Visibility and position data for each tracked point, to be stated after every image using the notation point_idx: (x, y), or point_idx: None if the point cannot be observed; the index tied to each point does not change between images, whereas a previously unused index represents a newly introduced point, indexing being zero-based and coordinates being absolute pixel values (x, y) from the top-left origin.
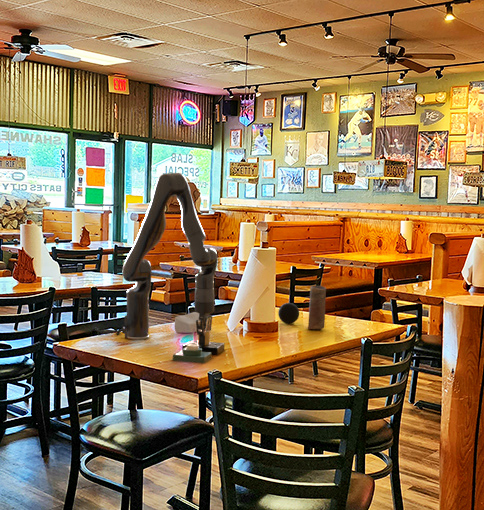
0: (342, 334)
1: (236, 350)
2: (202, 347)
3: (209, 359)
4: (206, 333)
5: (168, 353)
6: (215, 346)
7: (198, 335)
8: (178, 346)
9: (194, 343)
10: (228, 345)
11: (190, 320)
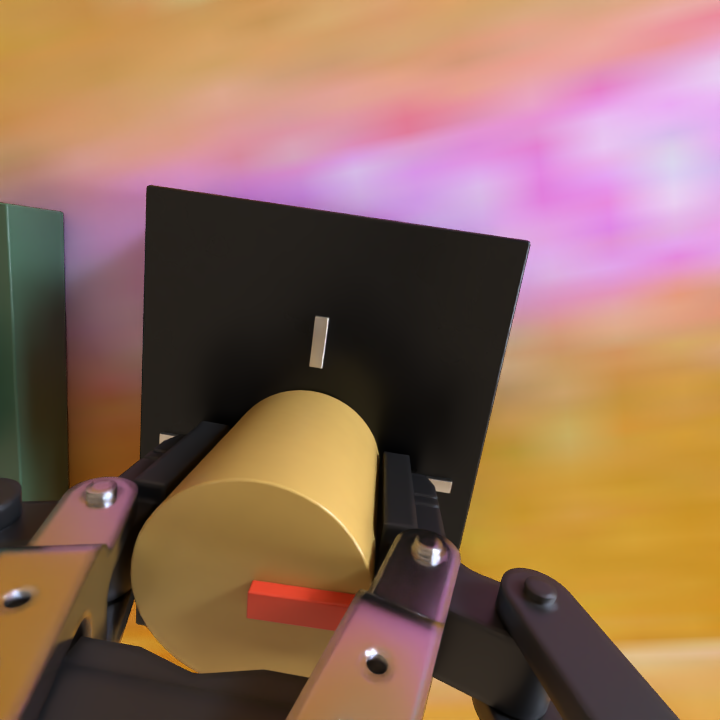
0: None
1: (449, 698)
2: None
3: None
4: (174, 623)
5: (136, 25)
6: None
7: (215, 452)
8: (584, 61)
9: (313, 338)
10: (684, 628)
11: None
